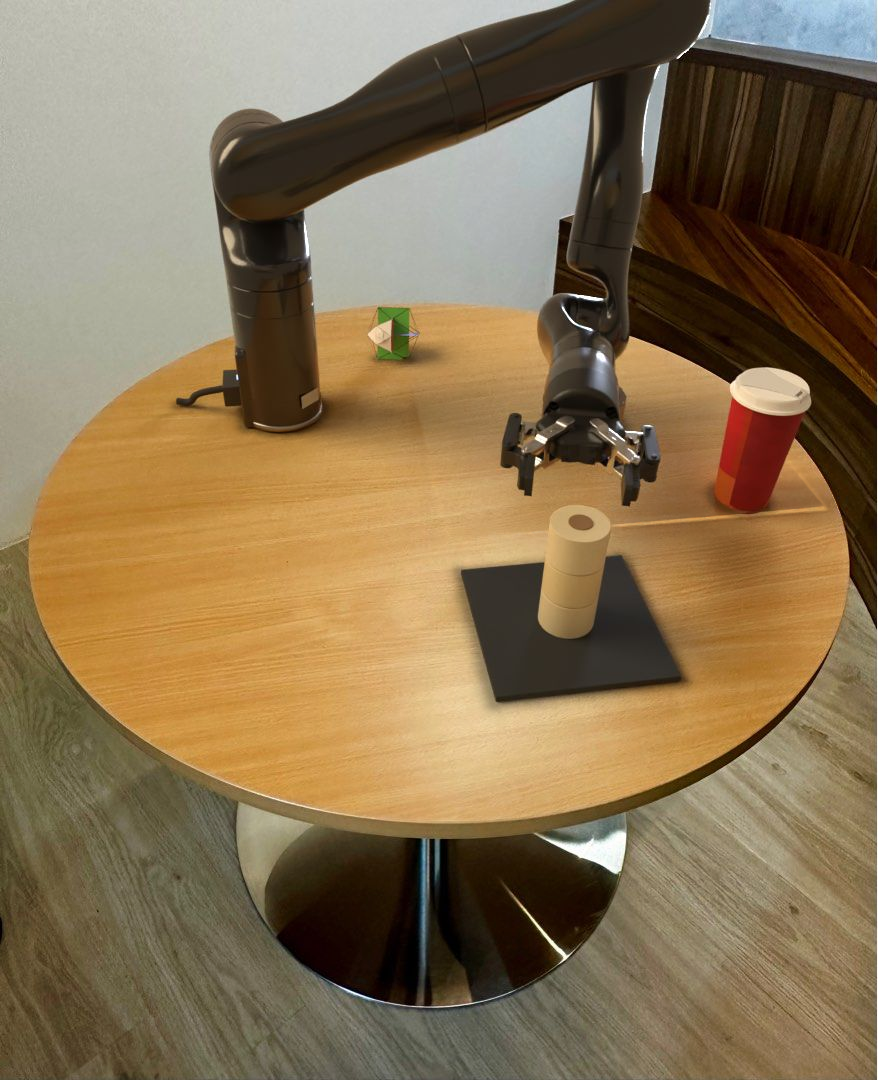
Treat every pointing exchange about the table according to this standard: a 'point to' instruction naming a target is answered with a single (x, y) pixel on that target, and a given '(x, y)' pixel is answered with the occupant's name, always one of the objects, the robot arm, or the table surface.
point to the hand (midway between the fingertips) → (578, 493)
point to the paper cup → (759, 435)
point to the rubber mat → (557, 663)
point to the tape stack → (573, 570)
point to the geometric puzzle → (392, 333)
